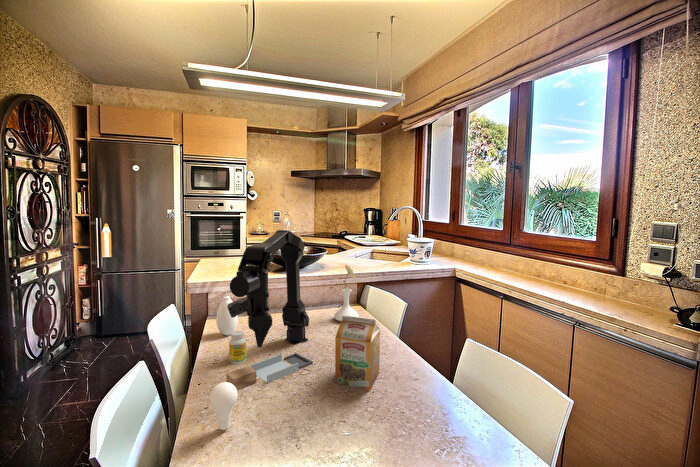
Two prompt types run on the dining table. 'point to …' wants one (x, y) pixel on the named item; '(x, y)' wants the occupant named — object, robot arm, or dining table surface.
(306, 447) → the dining table surface
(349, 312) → the flower in vase
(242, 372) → the block
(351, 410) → the dining table surface
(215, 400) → the lightbulb
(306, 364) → the dark gray shallow tray
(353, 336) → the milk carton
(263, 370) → the grey bracket
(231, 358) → the supplement bottle
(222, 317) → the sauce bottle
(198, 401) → the dining table surface
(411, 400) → the dining table surface
